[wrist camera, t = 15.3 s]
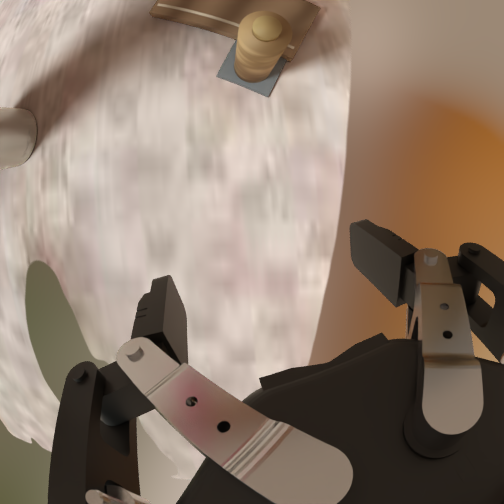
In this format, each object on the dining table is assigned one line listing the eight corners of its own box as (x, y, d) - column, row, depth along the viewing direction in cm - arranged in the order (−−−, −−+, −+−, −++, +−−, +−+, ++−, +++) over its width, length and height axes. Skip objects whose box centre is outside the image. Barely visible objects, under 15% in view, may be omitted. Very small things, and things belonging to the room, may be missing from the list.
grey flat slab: (216, 76, 29) (216, 76, 29) (236, 39, 27) (236, 39, 27) (267, 97, 31) (268, 96, 31) (286, 60, 29) (287, 59, 29)
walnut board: (152, 16, 25) (149, 12, 23) (186, -31, 22) (185, -37, 20) (290, 62, 29) (293, 58, 28) (317, 12, 26) (320, 7, 25)
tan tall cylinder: (227, 74, 29) (229, 36, 17) (243, 46, 28) (253, -1, 16) (261, 88, 30) (282, 57, 18) (276, 60, 29) (303, 19, 17)
